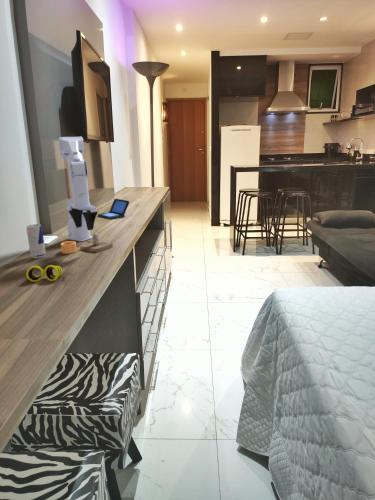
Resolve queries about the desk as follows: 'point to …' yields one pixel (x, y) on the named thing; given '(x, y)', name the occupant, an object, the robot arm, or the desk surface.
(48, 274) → the opera glasses
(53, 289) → the desk surface
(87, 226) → the robot arm
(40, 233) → the energy drink
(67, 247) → the ring
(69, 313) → the desk surface
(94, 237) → the post stand
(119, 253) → the desk surface
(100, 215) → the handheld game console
